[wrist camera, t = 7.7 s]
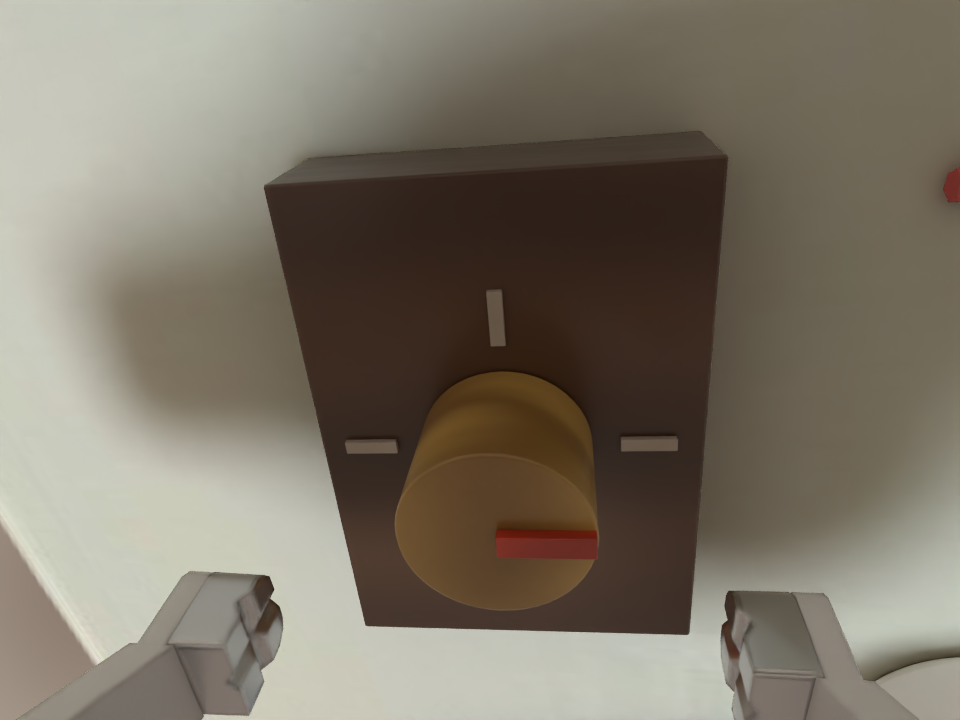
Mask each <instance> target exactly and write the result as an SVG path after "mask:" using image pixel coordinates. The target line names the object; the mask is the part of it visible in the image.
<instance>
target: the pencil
mask: <svg viewBox="0 0 960 720" xmlns="http://www.w3.org/2000/svg"><path fill="white" fill-rule="evenodd" d="M943 190H944V193H945V195H946V197H947V200H948V201H949V202H960V168H958V169H956V170H954V171H952V172H950V173H949V174H948V175H947V178H946V182H945V185H944V189H943Z"/></svg>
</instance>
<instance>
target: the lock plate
mask: <svg viewBox="0 0 960 720" xmlns="http://www.w3.org/2000/svg"><path fill="white" fill-rule="evenodd" d="M727 167H728V156H727V155H726V154H725V153H724V152H723V151H722V150H721V149H720V148H719V147H718V146H716V145H715V144H714V143H713V142H712V141H711V140H710V139H709V138H708V137H707V136H705V135H704V134H703V133H702V132H700V131H695V132H681V133H667V134H652V135H638V136H624V137H609V138H595V139H580V140H566V141H552V142H537V143H523V144H509V145H494V146H480V147H465V148H451V149H437V150H422V151H408V152H394V153H379V154H365V155H350V156H336V157H322V158H308V159H307V160H305V161H303V162H302V163H300V164H298V165H297V166H295V167H294V168H292V169H290V170H289V171H287V172H285V173H284V174H282V175H281V176H279V177H277V178H276V179H274V180H272V181H271V182H269V183H267V184H266V185H264V190H265V195H266V199H267V203H268V208H269V212H270V216H271V220H272V225H273V229H274V233H275V238H276V242H277V246H278V251H279V255H280V259H281V264H282V268H283V272H284V276H285V281H286V285H287V289H288V294H289V298H290V302H291V307H292V311H293V315H294V319H295V324H296V328H297V332H298V337H299V341H300V345H301V350H302V354H303V358H304V363H305V367H306V371H307V375H308V380H309V384H310V388H311V393H312V397H313V401H314V406H315V410H316V414H317V418H318V423H319V427H320V431H321V436H322V440H323V444H324V449H325V453H326V457H327V461H328V466H329V470H330V474H331V479H332V483H333V487H334V492H335V496H336V500H337V505H338V509H339V513H340V517H341V522H342V526H343V530H344V535H345V539H346V543H347V548H348V552H349V556H350V560H351V565H352V569H353V573H354V578H355V582H356V586H357V591H358V595H359V599H360V604H361V608H362V612H363V616H364V621H365V625H366V626H379V627H416V628H453V629H490V630H527V631H563V632H600V633H637V634H674V635H688V634H689V631H690V619H691V607H692V594H693V582H694V570H695V558H696V546H697V533H698V521H699V509H700V497H701V485H702V472H703V460H704V448H705V436H706V424H707V411H708V399H709V387H710V375H711V363H712V350H713V338H714V326H715V314H716V302H717V289H718V277H719V265H720V253H721V241H722V228H723V216H724V204H725V192H726V180H727ZM500 371H503V372H517V373H523V374H527V375H531V376H535V377H537V378H540V379H542V380H545V381H547V382H549V383H551V384H553V385H554V386H556V387H558V388H559V389H560V390H562V391H563V392H565V393H566V394H567V395H568V396H569V397H570V398H571V399H572V400H573V401H574V402H575V403H576V404H577V406H578V407H579V408H580V409H581V411H582V413H583V414H584V416H585V418H586V420H587V422H588V425H589V427H590V431H591V435H592V444H593V457H594V471H595V485H596V499H597V513H598V527H599V546H598V559H597V560H594V562H593V564H592V567H591V568H590V570H589V571H588V573H587V574H586V576H585V577H584V578H583V580H582V581H581V582H580V583H579V584H578V585H577V586H576V587H574V588H573V589H572V590H571V591H569V592H568V593H566V594H565V595H563V596H562V597H560V598H558V599H556V600H554V601H551V602H549V603H546V604H543V605H540V606H537V607H532V608H528V609H520V610H489V609H483V608H477V607H473V606H470V605H466V604H463V603H460V602H457V601H455V600H452V599H450V598H448V597H446V596H444V595H442V594H441V593H439V592H437V591H436V590H434V589H432V588H431V587H430V586H429V585H427V584H426V583H425V582H423V581H422V580H421V579H420V578H419V577H418V576H417V575H416V574H415V573H414V571H413V570H412V569H411V568H410V566H409V565H408V564H407V562H406V560H405V559H404V557H403V555H402V553H401V551H400V548H399V546H398V542H397V538H396V533H395V514H396V510H397V506H398V503H399V500H400V497H401V494H402V491H403V488H404V484H405V481H406V478H407V475H408V472H409V469H410V466H411V463H412V460H413V457H414V454H415V451H416V448H417V445H418V441H419V438H420V435H421V432H422V429H423V426H424V423H425V420H426V418H427V415H428V413H429V411H430V409H431V408H432V406H433V404H434V403H435V402H436V401H437V399H438V398H439V397H440V396H441V395H442V394H443V393H444V392H445V391H447V390H448V389H449V388H451V387H452V386H454V385H455V384H457V383H458V382H461V381H463V380H465V379H467V378H469V377H473V376H476V375H479V374H484V373H489V372H500Z"/></svg>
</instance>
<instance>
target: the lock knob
mask: <svg viewBox="0 0 960 720" xmlns="http://www.w3.org/2000/svg"><path fill="white" fill-rule="evenodd" d="M395 533H396V538H397V542H398V546H399V548H400V551H401V553H402V555H403V557H404V559H405V560H406V562H407V564H408V565H409V566H410V568H411V569H412V570H413V571H414V573H415V574H416V575H417V576H418V577H419V578H420V579H421V580H422V581H423V582H425V583H426V584H427V585H429V586H430V587H431V588H432V589H434V590H436V591H437V592H439V593H441V594H442V595H444V596H446V597H448V598H450V599H452V600H455V601H457V602H460V603H463V604H466V605H470V606H473V607H477V608H483V609H489V610H520V609H528V608H532V607H537V606H540V605H543V604H546V603H549V602H551V601H554V600H556V599H558V598H560V597H562V596H563V595H565V594H566V593H568V592H569V591H571V590H572V589H573V588H574V587H576V586H577V585H578V584H579V583H580V582H581V581H582V580H583V578H584V577H585V576H586V574H587V573H588V571H589V570H590V568H591V567H592V564H593V562H594V560H597V559H598V546H599V527H598V513H597V499H596V485H595V471H594V457H593V444H592V435H591V431H590V427H589V425H588V422H587V420H586V418H585V416H584V414H583V413H582V411H581V409H580V408H579V407H578V406H577V404H576V403H575V402H574V401H573V400H572V399H571V398H570V397H569V396H568V395H567V394H566V393H565V392H563V391H562V390H560V389H559V388H558V387H556V386H554V385H553V384H551V383H549V382H547V381H545V380H542V379H540V378H537V377H535V376H531V375H527V374H523V373H517V372H503V371H500V372H489V373H484V374H479V375H476V376H473V377H469V378H467V379H465V380H463V381H461V382H458V383H457V384H455V385H454V386H452V387H451V388H449V389H448V390H447V391H445V392H444V393H443V394H442V395H441V396H440V397H439V398H438V399H437V401H436V402H435V403H434V404H433V406H432V408H431V409H430V411H429V413H428V415H427V418H426V420H425V423H424V426H423V429H422V432H421V435H420V438H419V441H418V445H417V448H416V451H415V454H414V457H413V460H412V463H411V466H410V469H409V472H408V475H407V478H406V481H405V484H404V488H403V491H402V494H401V497H400V500H399V503H398V506H397V510H396V514H395Z"/></svg>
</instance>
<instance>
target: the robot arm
mask: <svg viewBox="0 0 960 720" xmlns="http://www.w3.org/2000/svg"><path fill="white" fill-rule="evenodd" d="M273 591H274V587H273V585H272V582H271V579H270V577H269V576H265V575H253V574H237V573H221V572H198V571H189V572H188V573H187V574H185V575H184V576H182V577H181V579H180V580H179V582H178V583H177V585H176V586H175V588H174V589H173V591H172V592H171V594H170V595H169V597H168V598H167V600H166V601H165V603H164V604H163V606H162V607H161V609H160V610H159V612H158V613H157V615H156V616H155V618H154V619H153V621H152V622H151V624H150V625H149V627H148V628H147V630H146V631H145V633H144V634H143V636H142V637H141V639H140V640H139V642H138V643H129V644H128V645H126V646H125V647H123V648H122V649H120V650H119V651H117V652H116V653H114V654H113V655H111V656H110V657H108V658H107V659H105V660H104V661H102V662H101V663H99V664H98V665H96V666H95V667H93V668H92V669H91V670H89V671H88V672H86V673H85V674H83V675H82V676H80V677H79V678H77V679H76V680H74V681H73V682H71V683H70V684H68V685H67V686H65V687H64V688H62V689H61V690H59V691H58V692H56V693H55V694H53V695H52V696H50V697H49V698H47V699H46V700H44V701H43V702H41V703H40V704H38V705H37V706H35V707H34V708H33V709H31V710H29V711H28V712H26V713H25V714H24V715H22V716H20V717H19V718H18V719H16V720H201V719H202V718H203V717H204V716H203V714H214V715H243V716H249V715H250V712H251V710H252V708H253V706H254V703H255V701H256V699H257V697H258V695H259V692H260V690H261V688H262V686H263V683H264V679H263V675H262V672H261V670H262V669H263V668H264V667H265V666H267V665H268V664H269V663H270V662H272V661H273V660H274V658H275V656H276V654H277V651H278V649H279V647H280V643H281V637H282V632H283V618H282V613H281V610H280V607H279V606H278V605H277V604H276V603H275V602H274V601H272V600H271V599H270V597H271V595H272V593H273ZM725 611H726V615H727V619H728V621H726V622H725V623H724V624H723V625H722V630H721V659H722V666H723V672H724V676H725V681H726V684H727V685H728V686H729V687H730V688H731V689H732V690H733V691H734V696H733V703H732V712H733V717H734V720H919V719H918V718H917V717H916V716H914V715H913V714H912V713H911V712H910V711H909V710H907V709H906V708H905V707H904V706H903V705H901V704H900V703H899V702H898V701H897V700H896V699H894V698H893V697H892V696H891V695H890V694H888V693H887V692H886V691H885V690H884V689H883V688H881V687H880V686H879V685H878V684H877V683H876V682H874V681H865V680H864V679H863V677H862V675H861V673H860V670H859V668H858V666H857V663H856V661H855V659H854V656H853V654H852V652H851V649H850V647H849V645H848V642H847V640H846V638H845V635H844V633H843V631H842V628H841V626H840V624H839V622H838V619H837V617H836V615H835V612H834V610H833V608H832V605H831V603H830V601H829V598H828V597H827V596H826V595H825V594H824V593H800V592H791V593H789V592H770V591H728V593H727V595H726V600H725Z"/></svg>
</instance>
